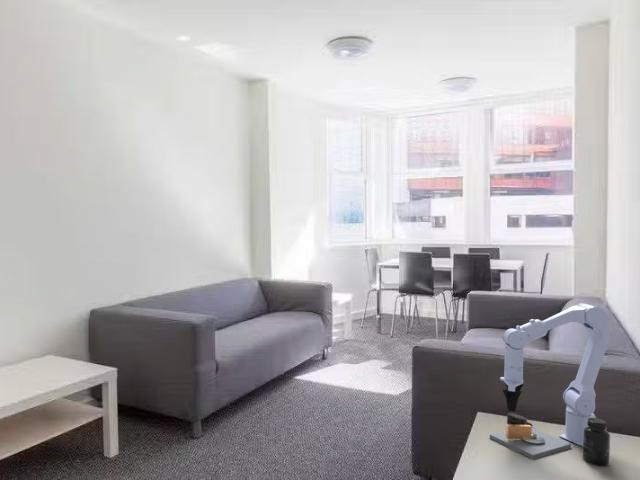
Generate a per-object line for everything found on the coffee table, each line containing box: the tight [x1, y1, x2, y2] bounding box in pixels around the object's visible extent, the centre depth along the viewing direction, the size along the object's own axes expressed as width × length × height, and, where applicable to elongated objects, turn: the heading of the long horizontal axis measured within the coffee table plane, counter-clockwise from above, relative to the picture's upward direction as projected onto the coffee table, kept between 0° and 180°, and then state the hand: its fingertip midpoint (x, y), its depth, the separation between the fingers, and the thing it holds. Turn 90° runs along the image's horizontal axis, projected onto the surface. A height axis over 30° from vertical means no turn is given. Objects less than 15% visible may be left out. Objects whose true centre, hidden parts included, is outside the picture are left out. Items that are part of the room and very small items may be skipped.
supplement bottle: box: [582, 417, 611, 467], centre depth 140 cm, size 7×7×12 cm
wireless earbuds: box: [506, 412, 533, 427], centre depth 166 cm, size 5×7×3 cm, turn 37°
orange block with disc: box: [505, 424, 545, 444], centre depth 150 cm, size 12×7×4 cm, turn 94°
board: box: [489, 427, 572, 460], centre depth 151 cm, size 18×16×2 cm
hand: (512, 407), depth 157 cm, fingers open, 7 cm apart
